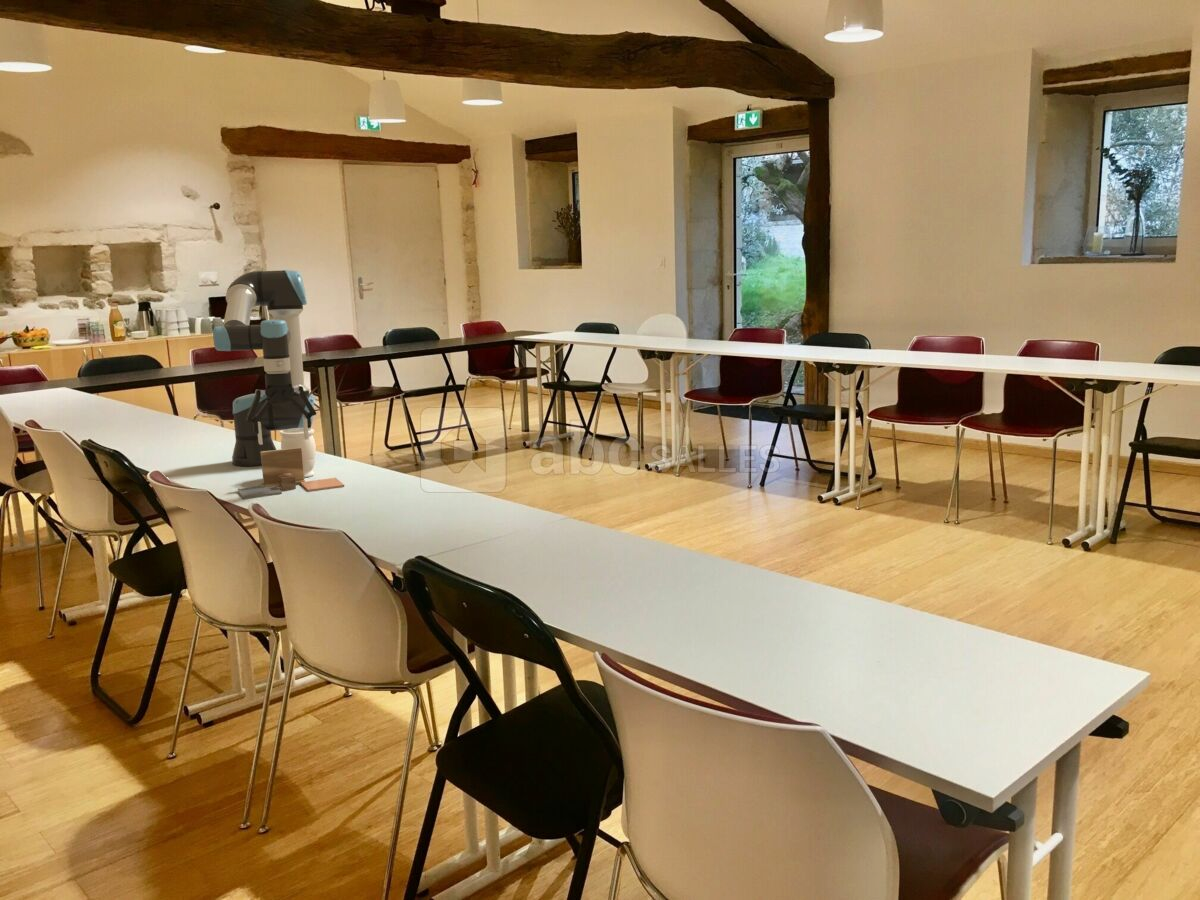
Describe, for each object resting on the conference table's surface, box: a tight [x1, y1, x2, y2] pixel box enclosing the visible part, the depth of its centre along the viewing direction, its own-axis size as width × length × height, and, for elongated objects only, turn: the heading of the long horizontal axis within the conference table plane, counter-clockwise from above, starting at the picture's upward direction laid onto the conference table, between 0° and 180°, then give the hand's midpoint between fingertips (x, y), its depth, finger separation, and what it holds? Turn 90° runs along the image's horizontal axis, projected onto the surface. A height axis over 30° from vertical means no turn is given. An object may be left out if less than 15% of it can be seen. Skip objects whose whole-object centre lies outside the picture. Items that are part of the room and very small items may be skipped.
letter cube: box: [279, 473, 297, 492], centre depth 305 cm, size 4×4×4 cm
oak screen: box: [261, 447, 306, 488], centre depth 310 cm, size 5×12×11 cm, turn 118°
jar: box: [279, 427, 317, 479], centre depth 320 cm, size 11×10×15 cm
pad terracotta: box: [299, 477, 345, 492], centre depth 309 cm, size 11×11×1 cm
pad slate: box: [236, 485, 283, 500], centre depth 301 cm, size 11×11×1 cm
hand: (283, 441), depth 303 cm, fingers open, 13 cm apart
